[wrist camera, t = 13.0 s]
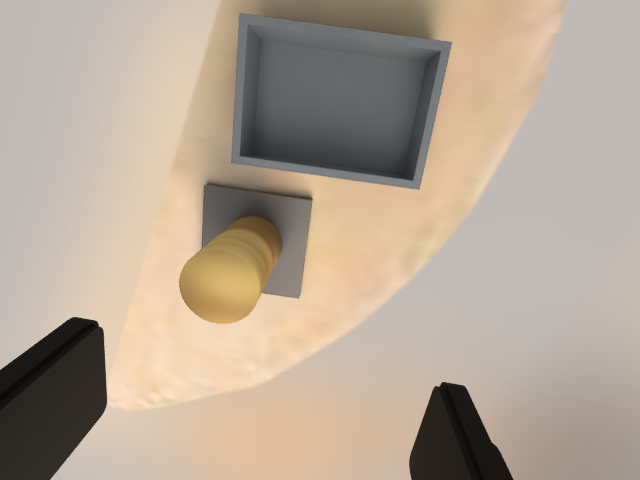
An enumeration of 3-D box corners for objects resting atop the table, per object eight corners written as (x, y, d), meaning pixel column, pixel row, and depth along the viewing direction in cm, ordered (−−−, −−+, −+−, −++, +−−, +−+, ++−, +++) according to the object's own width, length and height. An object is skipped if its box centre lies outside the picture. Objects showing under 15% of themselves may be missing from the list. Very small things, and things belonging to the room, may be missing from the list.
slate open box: (256, 32, 29) (239, 12, 24) (433, 57, 29) (451, 42, 24) (247, 158, 32) (231, 162, 27) (407, 180, 32) (419, 189, 27)
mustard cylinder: (226, 211, 33) (179, 244, 23) (284, 220, 32) (261, 256, 23) (224, 265, 34) (178, 317, 25) (279, 273, 34) (255, 329, 25)
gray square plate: (207, 184, 33) (203, 185, 32) (312, 199, 33) (311, 200, 32) (203, 280, 36) (200, 284, 35) (300, 295, 36) (299, 298, 35)
